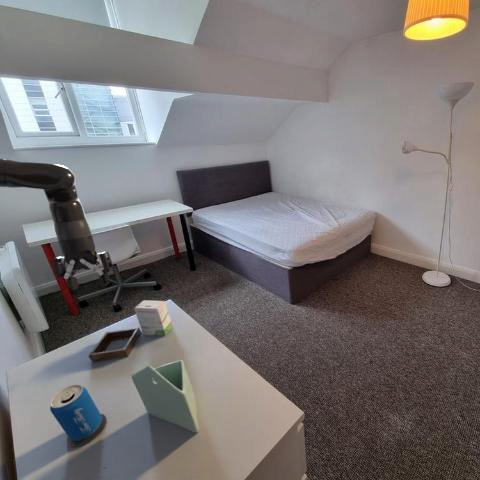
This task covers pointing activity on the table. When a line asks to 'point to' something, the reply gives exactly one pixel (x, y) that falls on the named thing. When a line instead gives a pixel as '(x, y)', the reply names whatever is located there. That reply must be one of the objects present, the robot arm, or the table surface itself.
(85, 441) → the coaster
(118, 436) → the table surface
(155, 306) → the ink box
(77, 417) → the beverage can
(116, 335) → the tray
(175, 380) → the planter
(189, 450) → the table surface
